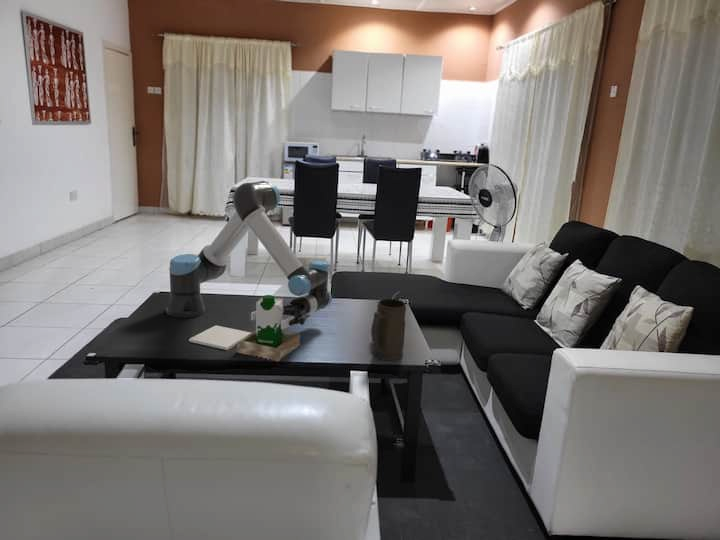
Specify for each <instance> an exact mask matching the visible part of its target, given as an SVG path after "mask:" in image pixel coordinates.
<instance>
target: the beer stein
mask: <svg viewBox="0 0 720 540" xmlns="http://www.w3.org/2000/svg"><path fill="white" fill-rule="evenodd" d="M376 308H377V309H378V312H377V311H375V312H374V313H373V315H374V316H373V321H372V323H371V329H370V333H371V335H370V336H371V338H372V339H371V340H372V345H373V347H372V348H371V353H372V355H373V356H374V357H375V358H376V357H377V359H379V360H381V359H383V360H382V361H387V360H394V361H398V360H397V359H399V360H400V358H401V359H402V358H403V357H402V356H404V351H403V349H404V345H405V334H406V333H405V331H406V313H405V311H406V312H407V305H406V302H404V301H402V300H399V299H395V298H393V299H392V298H386V299H381V300H379V301H378V303H377V306H376ZM377 309H376V310H377Z"/></svg>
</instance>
